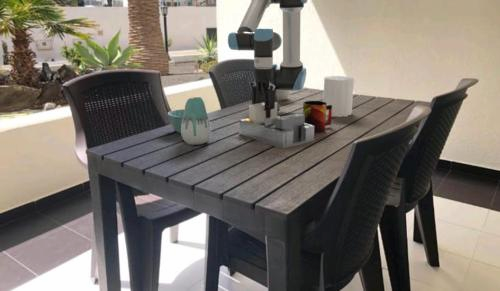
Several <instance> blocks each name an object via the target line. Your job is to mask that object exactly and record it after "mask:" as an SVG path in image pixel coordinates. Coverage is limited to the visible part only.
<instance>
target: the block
mask: <svg viewBox="0 0 500 291" xmlns="http://www.w3.org/2000/svg"><path fill="white" fill-rule="evenodd" d="M251 104H252V103H251ZM251 104H249V105H248V118H249V120H251V121H253V123H257V122H264V109H265V104H264V103H258V104H252V105H251ZM277 116H278V110H277V103H276V102H275V108H274V109H271V117H270V125H273V124H274V119H275V118H277ZM267 126H268V125H267Z"/></svg>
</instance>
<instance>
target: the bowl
mask: <svg viewBox="0 0 500 291" xmlns="http://www.w3.org/2000/svg"><path fill="white" fill-rule="evenodd" d="M184 110H185V108H183V109H182V108H181V109H175V110H174V109H173V110H170V111H169V112H167V116H168V119H169V121H170V123H171V125H172V128H173V130H174V131H175V132H176V133H178V134H181V124H182V119H183V115H184Z"/></svg>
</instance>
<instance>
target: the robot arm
mask: <svg viewBox="0 0 500 291" xmlns="http://www.w3.org/2000/svg"><path fill="white" fill-rule="evenodd" d="M307 3H308V0H251V1H250V4H249V6H248V8H247V10H246V12H245V14H244V16H243V19H242V21H241V22H240V25H239V27H238V29H237V31H231V32H230V33H229V34H228V36H227V44H228V48H229V49H230V50H232V51H233V50H234V51H253V58H254V59H253V67H254V68H253V78H254V81H252V82H250V87H251V103H250V105H252V104H258V103H264V104H265V109H264V123H265V126H267V125H270V117H271V109H274V108H275V102H276V103H277V111H278V110H280V108H281V107H280V101H278V97H277V90H291V91H292V92H293V91H294V92H295V91H302V90H303V88H304V86H305V82H306V78H307V68H306V67H304V64H303V62H302V61H301V14H302V13H301V11H302V10H303V8H304V7H305V6H304V5H305V4H307ZM273 4H275V5H276V4H277V5H279V9H280V10H281V12H282V37H281V35H280V34H279V33H277V32H275V31H274V30H273V29H274V28H271V27H259V26H260V23H261V21H262V18H263V16H264V14H265V12H266V10H267V9H268V8H269V7H270V5H273ZM281 46H282V61H281V62H280V63H279V66H278V64H277V63H274V51H277V50H278V49H279V48H280V47H281Z"/></svg>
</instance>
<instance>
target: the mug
mask: <svg viewBox="0 0 500 291" xmlns="http://www.w3.org/2000/svg"><path fill="white" fill-rule="evenodd" d="M326 104H327V103H326V102H323V100H322V101H321V100H306V101H304V102H303V109H302V115H305V123H307V124H310V125H314V134H322V133H325V131H326V127H327V126H331V125H332V117H333V116H331V115H332V105H327V106H326ZM328 109H329V114H328V116H327V115H326V110H328ZM327 117H328V118H327Z"/></svg>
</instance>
